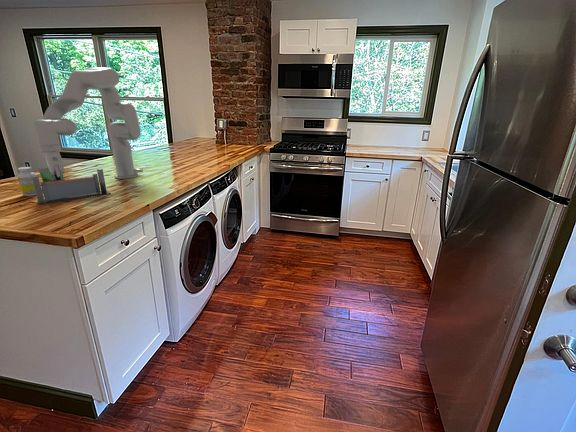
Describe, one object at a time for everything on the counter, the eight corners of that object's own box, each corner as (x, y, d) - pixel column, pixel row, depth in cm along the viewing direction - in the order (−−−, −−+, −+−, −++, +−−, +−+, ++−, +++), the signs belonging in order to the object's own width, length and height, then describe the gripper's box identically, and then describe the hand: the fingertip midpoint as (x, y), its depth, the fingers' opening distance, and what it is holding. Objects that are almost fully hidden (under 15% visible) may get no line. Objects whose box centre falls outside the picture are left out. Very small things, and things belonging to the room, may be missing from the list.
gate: (99, 191, 150) (96, 173, 147) (100, 192, 149) (97, 174, 145) (44, 199, 136) (39, 180, 132) (45, 200, 134) (40, 180, 131)
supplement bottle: (29, 192, 148) (22, 166, 144) (44, 192, 149) (37, 166, 144) (19, 196, 142) (11, 169, 137) (34, 196, 142) (27, 169, 138)
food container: (52, 188, 155) (47, 169, 151) (42, 187, 156) (37, 168, 153) (72, 183, 166) (68, 164, 163) (63, 182, 167) (59, 164, 164)
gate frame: (107, 191, 154) (102, 167, 150) (110, 194, 150) (106, 170, 146) (37, 201, 136) (30, 175, 131) (39, 205, 132) (32, 178, 127)
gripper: (63, 149, 134) (72, 190, 140) (58, 145, 144) (66, 183, 150) (42, 151, 129) (52, 192, 135) (38, 146, 139) (47, 185, 145)
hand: (60, 187), depth 143 cm, fingers closed
